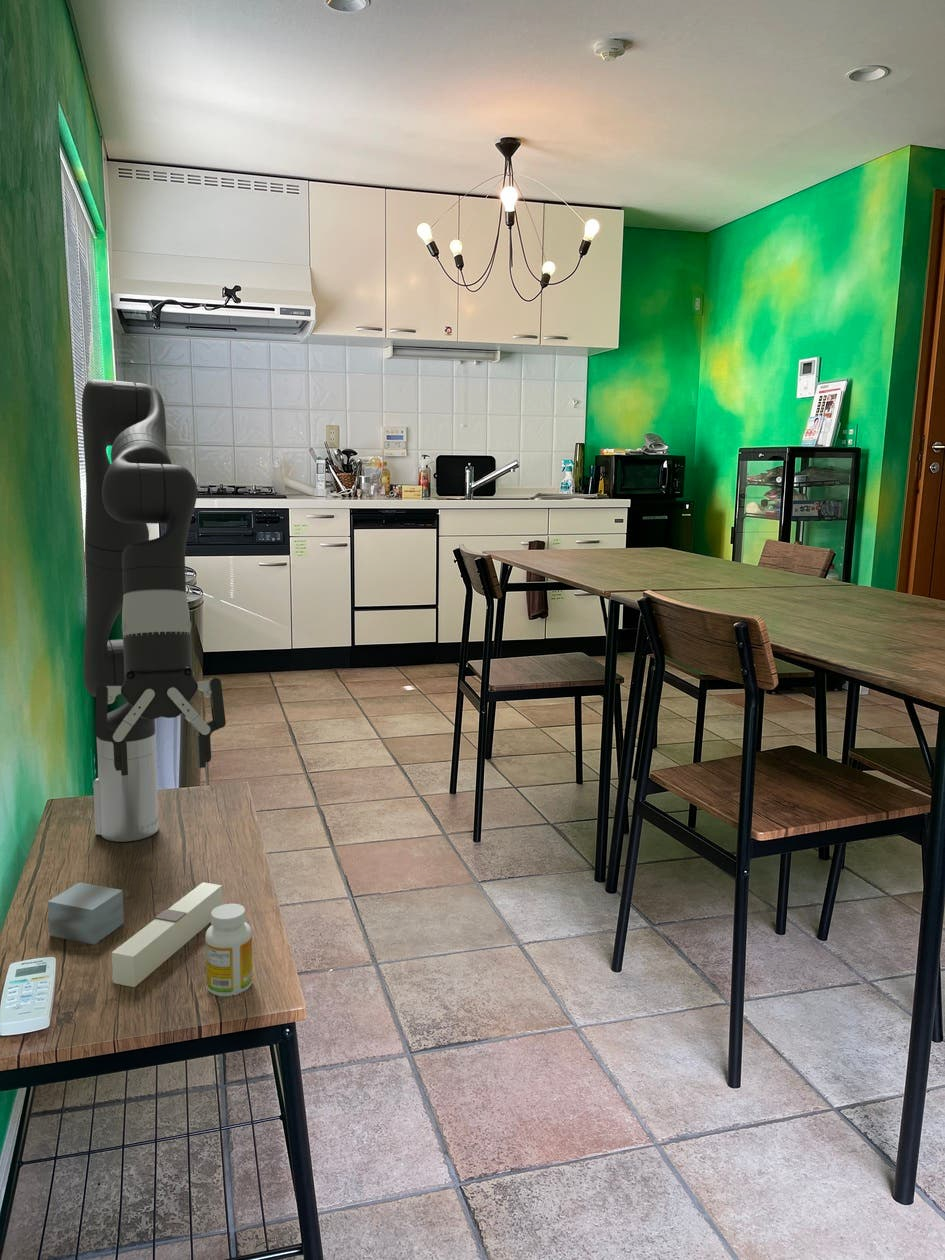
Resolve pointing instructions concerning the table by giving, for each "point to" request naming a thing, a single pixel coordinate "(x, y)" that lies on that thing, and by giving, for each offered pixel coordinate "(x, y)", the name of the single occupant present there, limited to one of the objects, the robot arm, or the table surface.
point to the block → (85, 913)
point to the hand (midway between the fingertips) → (163, 771)
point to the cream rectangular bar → (164, 935)
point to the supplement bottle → (228, 951)
